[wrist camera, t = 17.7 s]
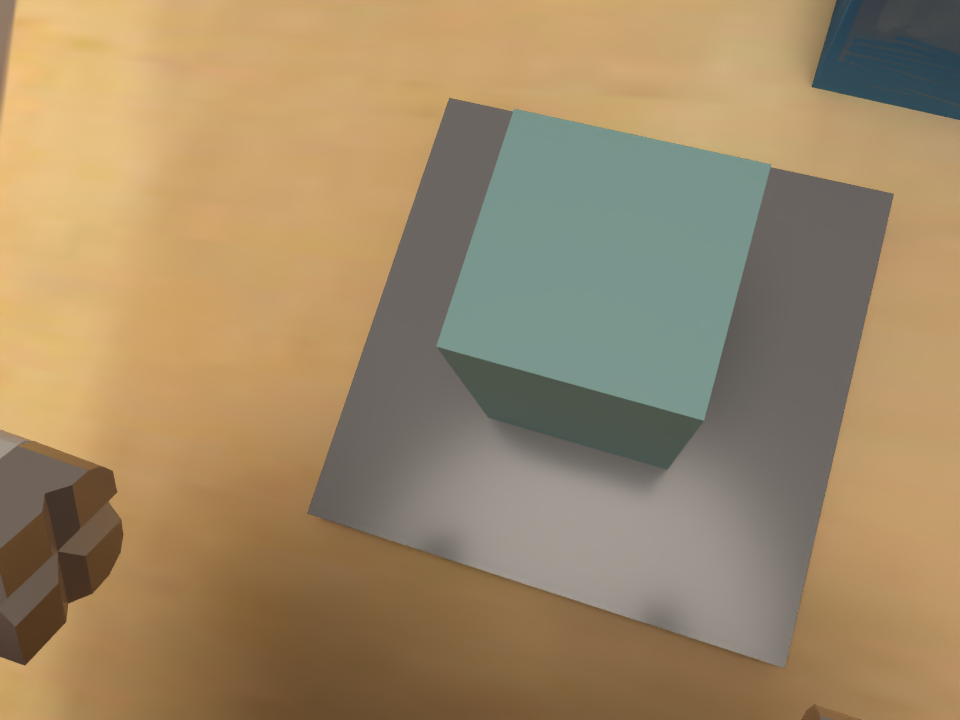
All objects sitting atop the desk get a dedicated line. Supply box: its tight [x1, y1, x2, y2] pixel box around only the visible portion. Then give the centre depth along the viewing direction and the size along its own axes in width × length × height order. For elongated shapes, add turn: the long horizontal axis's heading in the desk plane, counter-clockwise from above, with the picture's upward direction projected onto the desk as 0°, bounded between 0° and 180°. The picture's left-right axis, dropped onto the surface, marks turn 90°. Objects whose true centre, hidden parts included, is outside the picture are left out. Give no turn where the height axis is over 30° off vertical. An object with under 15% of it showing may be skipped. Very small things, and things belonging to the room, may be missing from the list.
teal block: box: [436, 109, 771, 470], centre depth 20 cm, size 5×5×8 cm
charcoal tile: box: [307, 98, 894, 668], centre depth 24 cm, size 13×13×1 cm
